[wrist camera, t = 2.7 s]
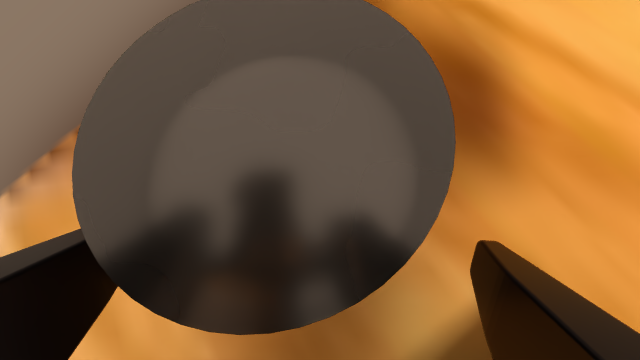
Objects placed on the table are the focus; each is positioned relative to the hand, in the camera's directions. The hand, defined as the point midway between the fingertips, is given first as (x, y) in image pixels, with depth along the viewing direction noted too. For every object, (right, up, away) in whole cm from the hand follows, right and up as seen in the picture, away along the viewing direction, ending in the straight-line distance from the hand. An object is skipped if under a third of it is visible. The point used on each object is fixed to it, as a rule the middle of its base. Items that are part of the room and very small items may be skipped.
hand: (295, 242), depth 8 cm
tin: (+1, -2, +9) cm, 9 cm away
